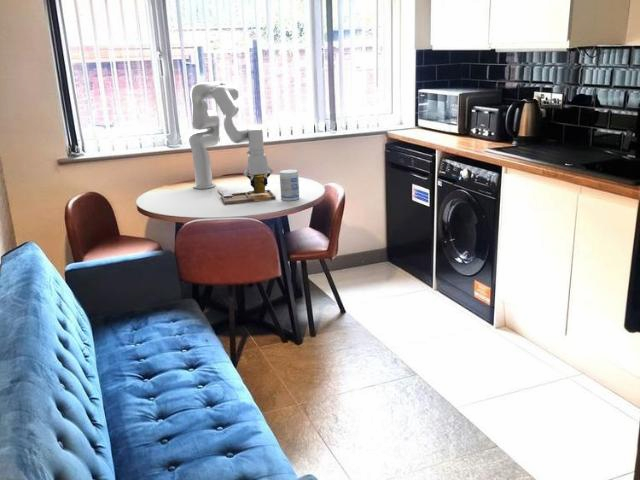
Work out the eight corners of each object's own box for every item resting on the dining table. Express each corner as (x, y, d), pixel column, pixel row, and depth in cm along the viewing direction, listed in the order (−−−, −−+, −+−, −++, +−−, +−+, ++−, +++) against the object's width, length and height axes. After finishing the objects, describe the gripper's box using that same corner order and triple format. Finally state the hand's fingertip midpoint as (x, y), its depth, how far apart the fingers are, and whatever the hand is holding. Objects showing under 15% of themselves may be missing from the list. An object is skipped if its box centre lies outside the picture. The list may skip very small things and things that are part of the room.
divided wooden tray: (221, 197, 316) (221, 194, 315) (269, 192, 322) (269, 189, 322) (224, 204, 301) (224, 202, 300) (275, 199, 307) (275, 196, 307)
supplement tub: (295, 201, 301) (294, 173, 297) (278, 201, 304) (276, 173, 299) (302, 197, 310) (300, 169, 305) (285, 196, 313) (283, 169, 308)
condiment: (268, 192, 311) (266, 170, 308) (253, 195, 307) (252, 172, 303) (262, 189, 317) (260, 167, 313) (247, 192, 313) (245, 170, 309)
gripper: (241, 155, 300) (244, 189, 306) (274, 152, 304) (276, 186, 310) (239, 152, 307) (241, 186, 313) (271, 149, 311) (273, 183, 317)
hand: (259, 186), depth 311 cm, fingers closed on condiment, 6 cm apart
